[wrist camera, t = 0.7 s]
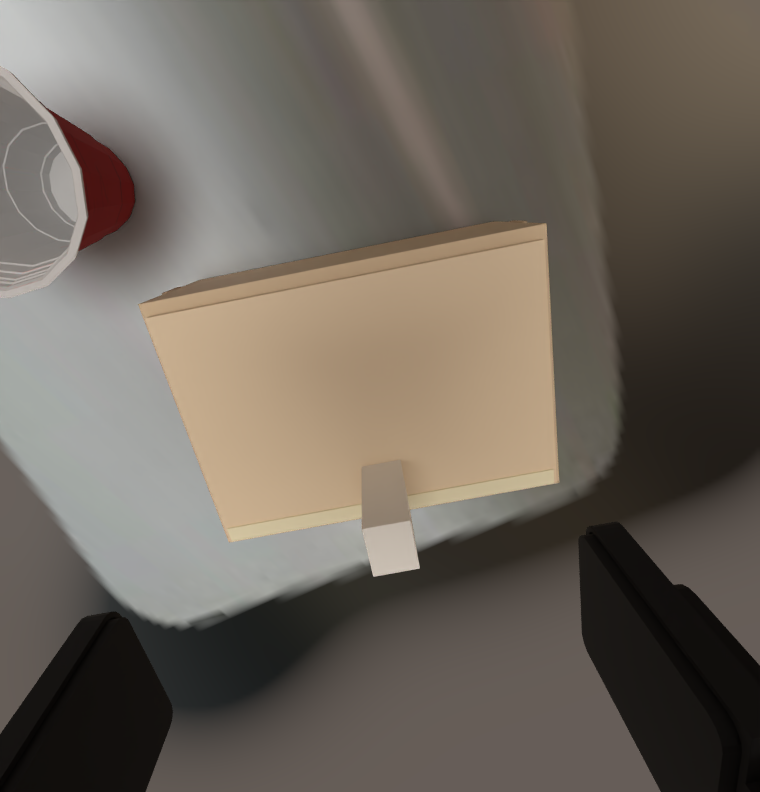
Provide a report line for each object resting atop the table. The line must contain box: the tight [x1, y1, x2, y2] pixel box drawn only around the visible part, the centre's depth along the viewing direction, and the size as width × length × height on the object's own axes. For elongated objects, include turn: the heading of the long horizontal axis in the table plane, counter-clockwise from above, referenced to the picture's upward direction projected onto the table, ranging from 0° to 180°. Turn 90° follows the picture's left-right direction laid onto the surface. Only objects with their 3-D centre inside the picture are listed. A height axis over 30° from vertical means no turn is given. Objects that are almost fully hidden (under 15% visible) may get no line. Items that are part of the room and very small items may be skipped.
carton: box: [138, 220, 559, 542], centre depth 32 cm, size 16×22×10 cm
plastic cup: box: [0, 66, 135, 298], centre depth 26 cm, size 11×11×12 cm
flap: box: [145, 239, 557, 576], centre depth 24 cm, size 15×21×7 cm
